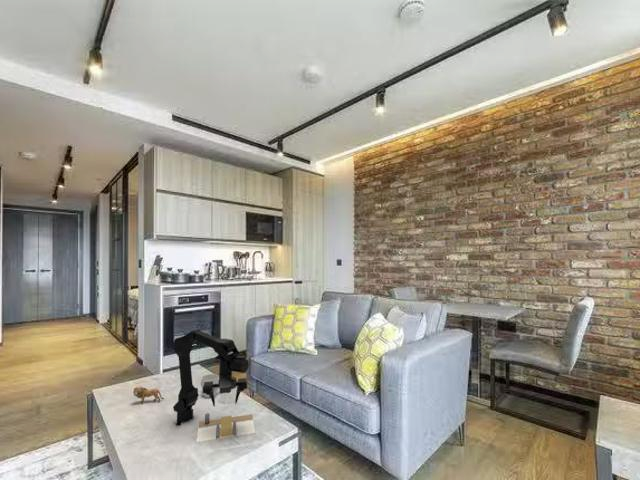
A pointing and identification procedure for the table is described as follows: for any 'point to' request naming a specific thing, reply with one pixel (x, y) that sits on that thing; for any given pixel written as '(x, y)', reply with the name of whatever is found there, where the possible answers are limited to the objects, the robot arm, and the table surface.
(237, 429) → the door board
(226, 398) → the jar
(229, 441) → the table surface
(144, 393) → the lion figurine
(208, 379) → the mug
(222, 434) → the bar
